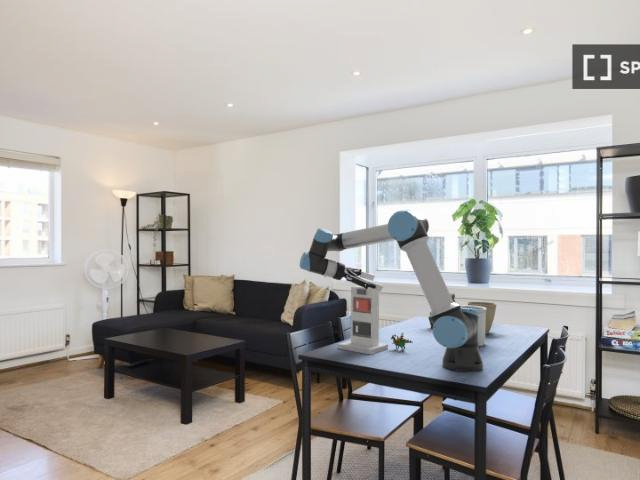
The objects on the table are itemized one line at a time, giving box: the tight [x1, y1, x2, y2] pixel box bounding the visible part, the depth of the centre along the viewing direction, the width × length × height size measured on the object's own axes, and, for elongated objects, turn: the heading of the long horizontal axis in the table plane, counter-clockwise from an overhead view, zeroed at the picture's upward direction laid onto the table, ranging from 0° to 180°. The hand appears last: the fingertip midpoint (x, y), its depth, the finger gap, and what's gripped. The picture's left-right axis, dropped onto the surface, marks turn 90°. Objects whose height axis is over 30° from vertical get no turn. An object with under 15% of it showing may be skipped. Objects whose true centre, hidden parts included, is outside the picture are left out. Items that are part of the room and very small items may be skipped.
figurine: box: [390, 332, 414, 352], centre depth 203 cm, size 3×12×8 cm, turn 45°
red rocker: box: [355, 299, 369, 312], centre depth 206 cm, size 2×8×5 cm, turn 39°
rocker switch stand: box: [337, 285, 389, 355], centre depth 207 cm, size 14×18×28 cm
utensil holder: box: [459, 304, 486, 347], centre depth 219 cm, size 15×15×18 cm
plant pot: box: [467, 301, 497, 335], centre depth 247 cm, size 15×15×16 cm
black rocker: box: [353, 323, 371, 336], centre depth 206 cm, size 2×8×5 cm, turn 63°
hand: (377, 283), depth 204 cm, fingers open, 13 cm apart
